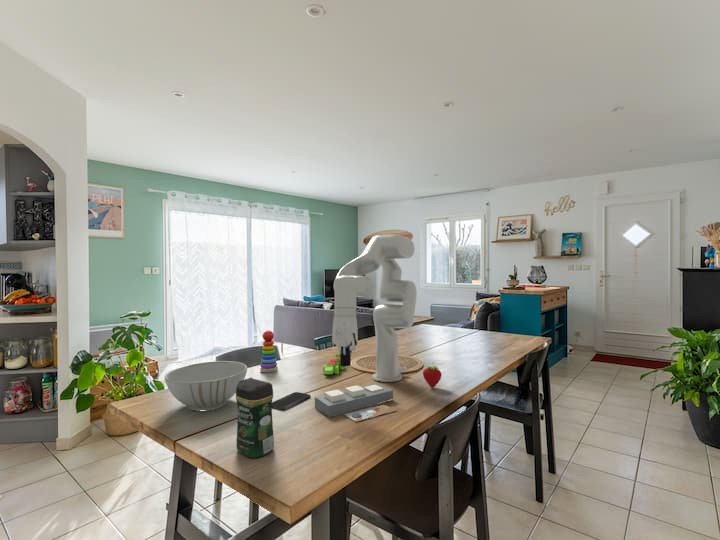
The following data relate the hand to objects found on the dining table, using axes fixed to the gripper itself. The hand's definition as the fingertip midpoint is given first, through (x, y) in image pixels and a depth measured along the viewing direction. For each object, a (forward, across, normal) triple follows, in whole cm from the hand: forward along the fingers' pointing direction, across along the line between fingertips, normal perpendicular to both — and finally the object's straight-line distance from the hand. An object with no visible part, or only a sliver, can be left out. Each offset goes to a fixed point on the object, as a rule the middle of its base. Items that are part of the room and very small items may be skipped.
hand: (345, 365), depth 126 cm
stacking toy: (+14, -59, -5) cm, 61 cm away
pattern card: (+14, +9, +4) cm, 17 cm away
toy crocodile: (+13, -40, +19) cm, 46 cm away
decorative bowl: (+15, -31, -38) cm, 51 cm away
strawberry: (+13, +3, +38) cm, 41 cm away
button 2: (+13, 0, +12) cm, 18 cm away
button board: (+14, -1, +4) cm, 15 cm away
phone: (+15, -16, -13) cm, 26 cm away
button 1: (+12, -1, -4) cm, 13 cm away
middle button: (+12, -1, +4) cm, 13 cm away
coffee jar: (+15, +11, -35) cm, 40 cm away
